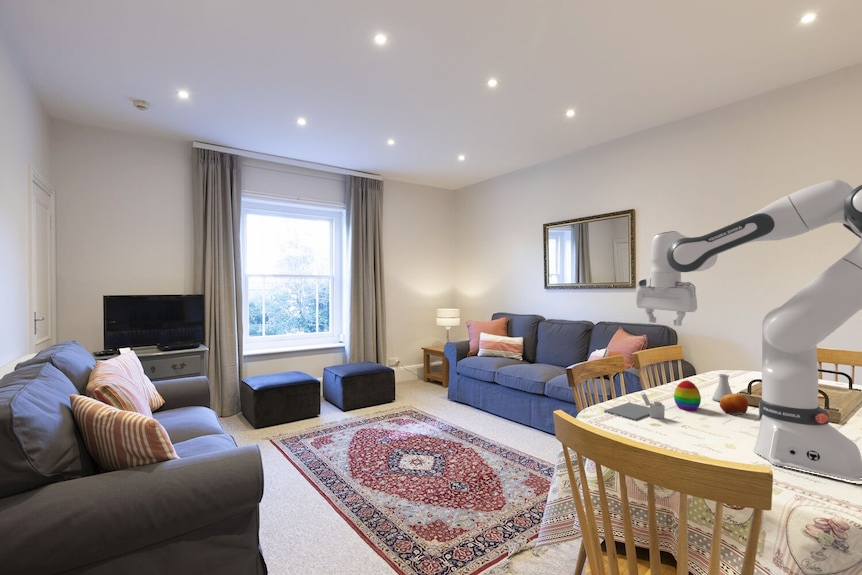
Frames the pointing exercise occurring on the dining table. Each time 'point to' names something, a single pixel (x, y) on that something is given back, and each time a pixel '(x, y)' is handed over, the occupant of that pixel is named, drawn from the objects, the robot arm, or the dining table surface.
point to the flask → (722, 387)
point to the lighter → (654, 408)
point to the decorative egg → (687, 396)
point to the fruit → (734, 404)
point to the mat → (630, 411)
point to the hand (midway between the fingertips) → (664, 323)
